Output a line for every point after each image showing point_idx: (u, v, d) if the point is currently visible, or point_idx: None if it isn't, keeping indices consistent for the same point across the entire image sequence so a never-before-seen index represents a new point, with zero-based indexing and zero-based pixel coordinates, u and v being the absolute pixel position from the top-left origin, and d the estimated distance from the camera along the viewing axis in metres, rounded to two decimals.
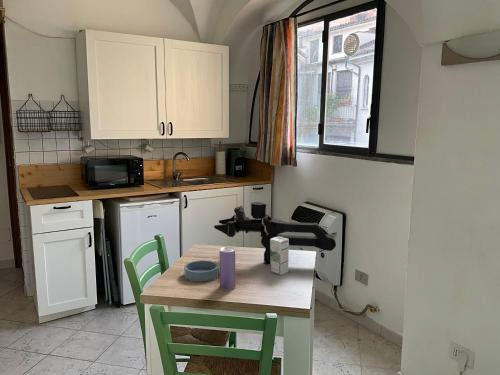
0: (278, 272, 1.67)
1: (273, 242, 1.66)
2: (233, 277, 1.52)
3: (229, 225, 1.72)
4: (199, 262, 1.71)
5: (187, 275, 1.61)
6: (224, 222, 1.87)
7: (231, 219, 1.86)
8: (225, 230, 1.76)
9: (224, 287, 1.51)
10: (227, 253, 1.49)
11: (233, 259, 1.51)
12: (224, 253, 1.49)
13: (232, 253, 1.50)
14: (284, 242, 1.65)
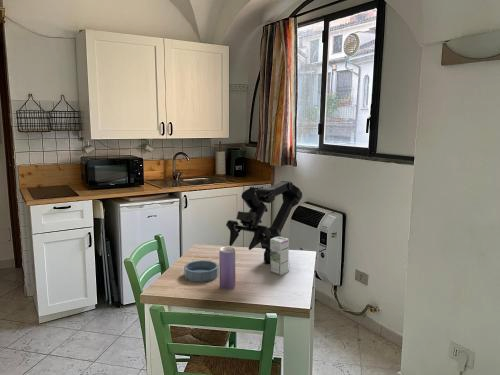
0: (278, 272, 1.67)
1: (273, 242, 1.66)
2: (233, 277, 1.52)
3: (265, 231, 1.56)
4: (199, 262, 1.71)
5: (187, 275, 1.61)
6: (233, 240, 1.62)
7: (234, 231, 1.63)
8: (258, 239, 1.58)
9: (224, 287, 1.51)
10: (227, 253, 1.49)
11: (233, 259, 1.51)
12: (224, 253, 1.49)
13: (232, 253, 1.50)
14: (284, 242, 1.65)
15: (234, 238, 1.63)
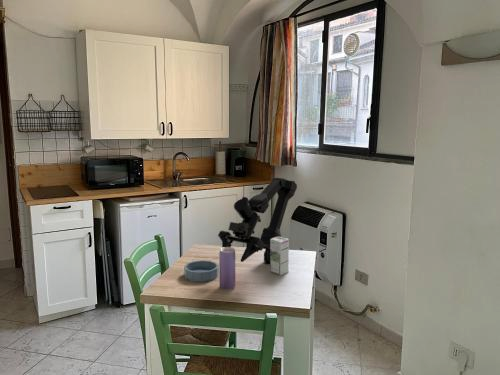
0: (278, 272, 1.67)
1: (273, 242, 1.66)
2: (233, 277, 1.52)
3: (258, 242, 1.52)
4: (199, 262, 1.71)
5: (187, 275, 1.61)
6: None
7: (226, 242, 1.59)
8: (251, 251, 1.55)
9: (224, 287, 1.51)
10: (227, 253, 1.49)
11: (233, 259, 1.51)
12: (224, 253, 1.49)
13: (232, 253, 1.50)
14: (284, 242, 1.65)
15: None
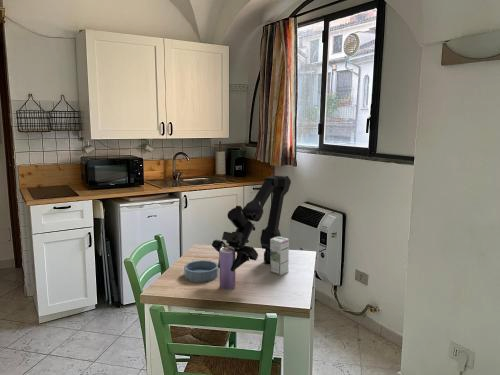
0: (278, 272, 1.67)
1: (273, 242, 1.66)
2: (233, 277, 1.52)
3: (252, 252, 1.49)
4: (199, 262, 1.71)
5: (187, 275, 1.61)
6: None
7: None
8: (242, 260, 1.53)
9: (224, 287, 1.51)
10: (227, 253, 1.49)
11: (233, 259, 1.51)
12: (224, 253, 1.49)
13: (232, 253, 1.50)
14: (284, 242, 1.65)
15: None
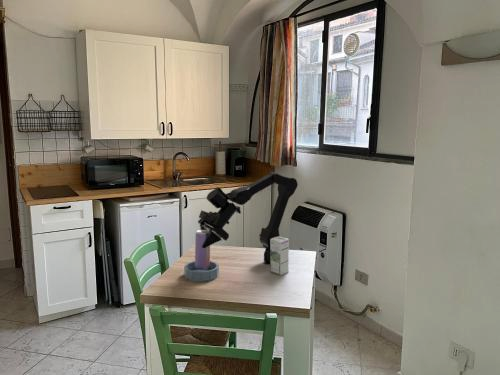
0: (278, 272, 1.67)
1: (273, 242, 1.66)
2: (205, 258, 1.61)
3: (218, 232, 1.55)
4: None
5: (187, 275, 1.61)
6: None
7: None
8: (214, 239, 1.60)
9: (196, 266, 1.62)
10: (200, 234, 1.59)
11: None
12: (197, 234, 1.60)
13: (205, 235, 1.59)
14: (284, 242, 1.65)
15: None
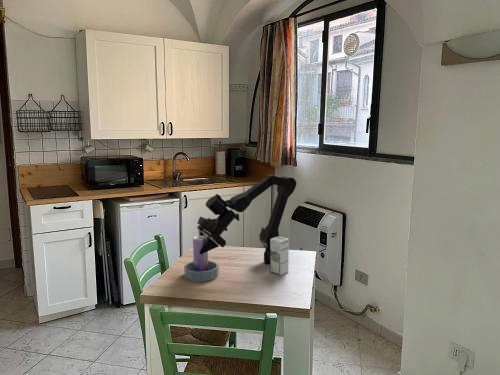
0: (278, 272, 1.67)
1: (273, 242, 1.66)
2: (203, 264, 1.62)
3: (215, 239, 1.56)
4: None
5: (187, 275, 1.61)
6: None
7: None
8: (212, 245, 1.61)
9: None
10: (196, 241, 1.61)
11: None
12: (194, 240, 1.62)
13: (202, 241, 1.61)
14: (284, 242, 1.65)
15: None
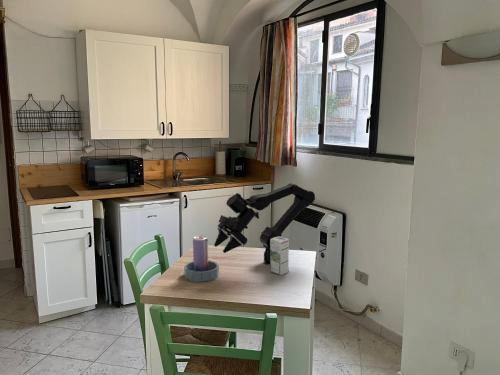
0: (278, 272, 1.67)
1: (273, 242, 1.66)
2: (203, 264, 1.62)
3: (237, 237, 1.60)
4: None
5: (187, 275, 1.61)
6: (219, 241, 1.73)
7: (221, 233, 1.73)
8: (235, 244, 1.64)
9: None
10: (196, 241, 1.61)
11: (203, 247, 1.61)
12: (194, 240, 1.62)
13: (202, 241, 1.61)
14: (284, 242, 1.65)
15: (221, 240, 1.73)
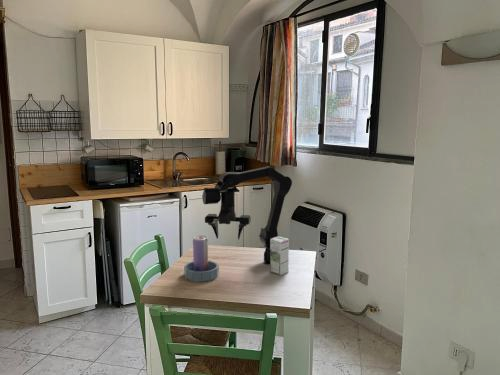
0: (278, 272, 1.67)
1: (273, 242, 1.66)
2: (203, 264, 1.62)
3: (249, 222, 1.67)
4: None
5: (187, 275, 1.61)
6: (217, 232, 1.73)
7: (215, 225, 1.71)
8: (242, 226, 1.71)
9: None
10: (196, 241, 1.61)
11: (203, 247, 1.61)
12: (194, 240, 1.62)
13: (202, 241, 1.61)
14: (284, 242, 1.65)
15: (217, 229, 1.73)
